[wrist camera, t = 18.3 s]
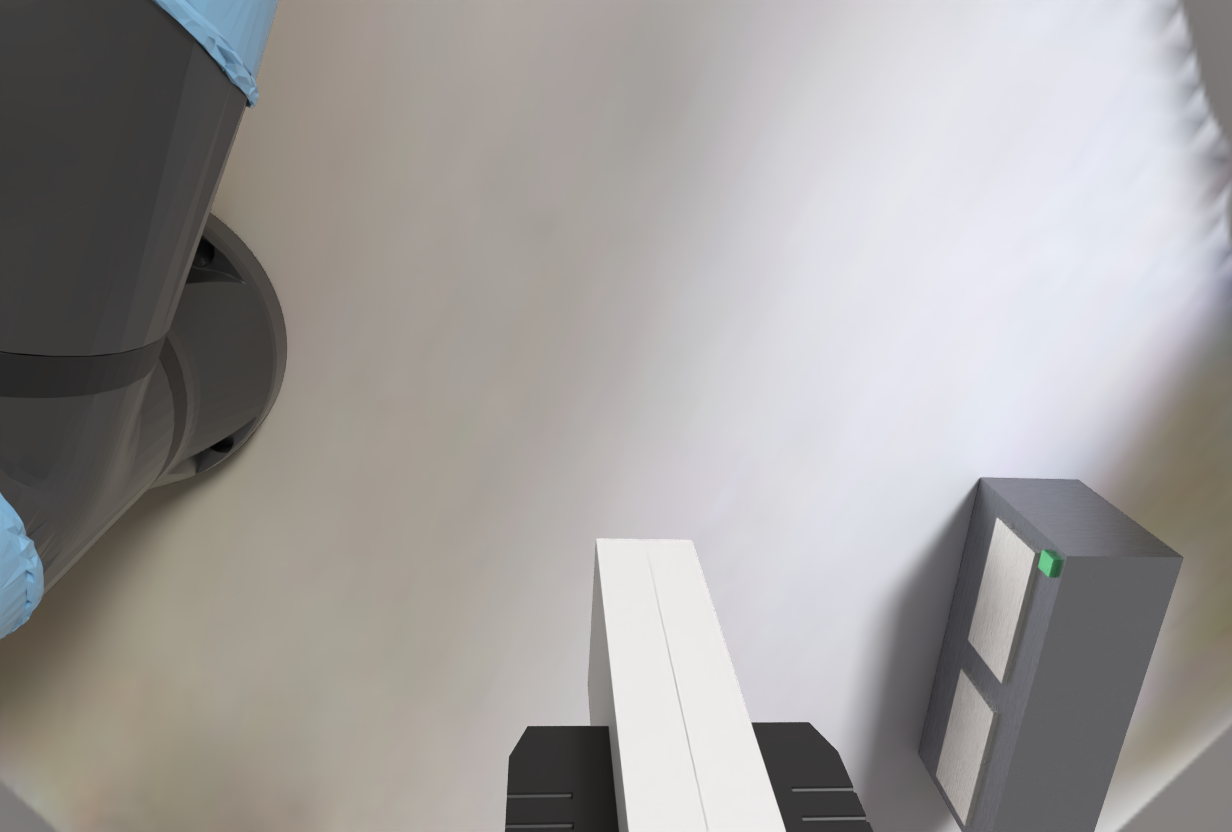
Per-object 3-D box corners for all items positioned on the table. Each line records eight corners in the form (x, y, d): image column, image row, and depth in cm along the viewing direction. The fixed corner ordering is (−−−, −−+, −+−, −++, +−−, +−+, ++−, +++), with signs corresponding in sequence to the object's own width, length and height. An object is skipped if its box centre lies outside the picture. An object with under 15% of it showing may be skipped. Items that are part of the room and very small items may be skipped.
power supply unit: (913, 753, 57) (977, 867, 49) (975, 477, 50) (1061, 555, 42) (1005, 752, 58) (1082, 865, 50) (1078, 479, 51) (1183, 557, 43)
